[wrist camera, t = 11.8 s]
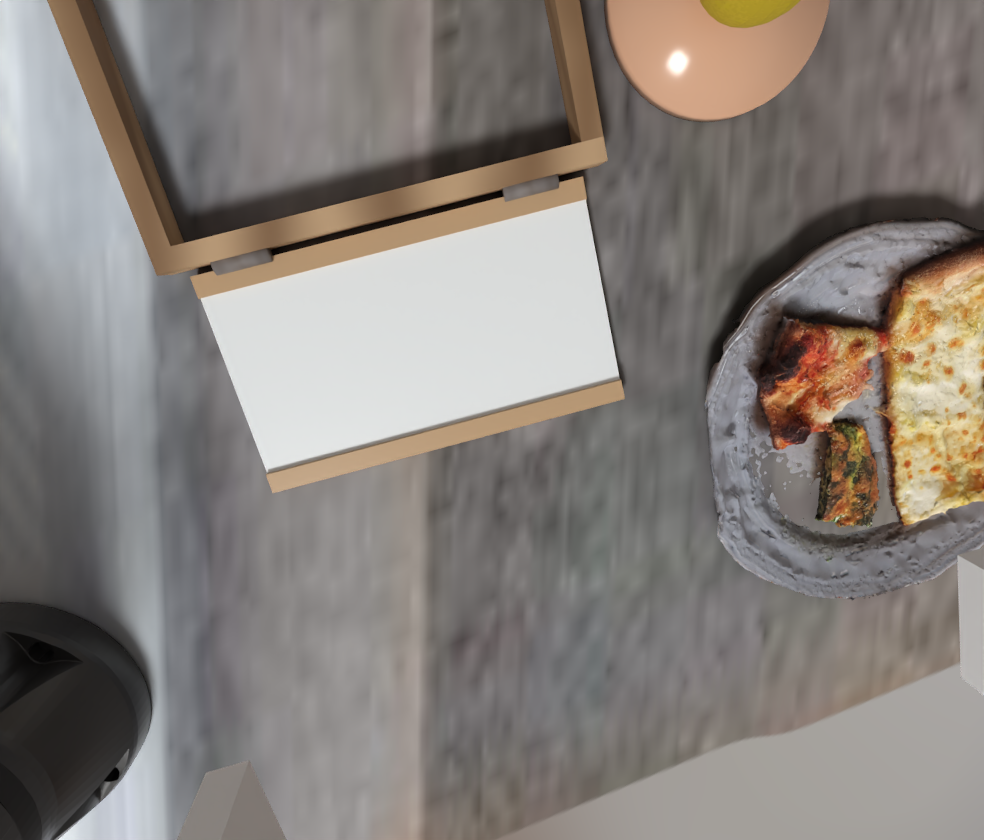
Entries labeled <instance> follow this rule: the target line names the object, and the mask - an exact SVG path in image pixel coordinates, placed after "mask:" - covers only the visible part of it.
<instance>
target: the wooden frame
mask: <svg viewBox="0 0 984 840" xmlns="http://www.w3.org/2000/svg"><path fill="white" fill-rule="evenodd" d="M47 1H48V3H49V6H50V8H51V11H52V13H53V16H54V18H55V21H56V24H57V26H58V29H59V31H60V34H61V36H62V39H63V41H64V44H65V46H66V49H67V51H68V54H69V56H70V59H71V61H72V64H73V66H74V69H75V71H76V74H77V76H78V79H79V81H80V84H81V86H82V89H83V91H84V94H85V96H86V99H87V101H88V104H89V106H90V109H91V111H92V114H93V116H94V119H95V121H96V124H97V126H98V129H99V131H100V134H101V136H102V139H103V141H104V144H105V146H106V149H107V151H108V154H109V157H110V159H111V162H112V164H113V167H114V169H115V172H116V174H117V177H118V179H119V182H120V184H121V187H122V189H123V192H124V194H125V197H126V199H127V202H128V204H129V207H130V209H131V212H132V214H133V217H134V219H135V222H136V224H137V227H138V229H139V232H140V234H141V237H142V239H143V242H144V244H145V247H146V249H147V252H148V254H149V257H150V259H151V262H152V264H153V267H154V269H155V272H156V274H157V276H158V275H173V274H177V273H181V272H185V271H189V270H193V269H197V268H201V267H205V266H209V265H211V267H212V269H213V271H214V273H215V274H216V275H222V274H226V273H230V272H234V271H238V270H242V269H246V268H250V267H253V266H257V265H261V264H265V263H269V262H273V258H272V256H273V254H272V251H271V249H275V248H279V247H283V246H287V245H291V244H295V243H299V242H302V241H306V240H310V239H314V238H318V237H322V236H326V235H330V234H334V233H338V232H342V231H346V230H349V229H353V228H357V227H361V226H365V225H369V224H373V223H377V222H381V221H385V220H389V219H393V218H396V217H400V216H404V215H408V214H412V213H416V212H420V211H424V210H428V209H432V208H436V207H439V206H443V205H447V204H451V203H455V202H459V201H463V200H467V199H471V198H475V197H479V196H483V195H486V194H490V193H494V192H498V191H502V194H503V197H504V200H505V202H507V201H511V200H515V199H519V198H523V197H527V196H531V195H535V194H538V193H542V192H546V191H550V190H554V189H558V188H559V178H558V176H561V175H565V174H569V173H573V172H576V171H580V170H584V169H588V168H592V167H596V166H599V165H600V164H602V163H604V162H606V161H608V159H607V154H606V148H605V142H604V137H603V131H602V125H601V120H600V114H599V108H598V103H597V97H596V91H595V86H594V80H593V74H592V69H591V63H590V57H589V52H588V46H587V40H586V35H585V29H584V23H583V18H582V12H581V6H580V1H579V0H544V1H545V6H546V11H547V17H548V22H549V27H550V32H551V38H552V43H553V48H554V53H555V58H556V64H557V69H558V74H559V79H560V85H561V90H562V95H563V100H564V106H565V111H566V116H567V121H568V127H569V132H570V137H571V142H572V145H568V146H564V147H560V148H556V149H552V150H548V151H544V152H540V153H536V154H532V155H529V156H525V157H521V158H517V159H513V160H509V161H505V162H501V163H497V164H493V165H489V166H485V167H481V168H477V169H473V170H469V171H466V172H462V173H458V174H454V175H450V176H446V177H442V178H438V179H434V180H430V181H426V182H422V183H418V184H414V185H410V186H406V187H403V188H399V189H395V190H391V191H387V192H383V193H379V194H375V195H371V196H367V197H363V198H359V199H355V200H351V201H347V202H344V203H340V204H336V205H332V206H328V207H324V208H320V209H316V210H312V211H308V212H304V213H300V214H296V215H292V216H288V217H284V218H281V219H277V220H273V221H269V222H265V223H261V224H257V225H253V226H249V227H245V228H241V229H237V230H233V231H229V232H225V233H221V234H218V235H214V236H210V237H206V238H202V239H198V240H194V241H190V242H186V243H184V241H183V238H182V235H181V233H180V230H179V227H178V225H177V222H176V219H175V217H174V214H173V212H172V209H171V206H170V204H169V201H168V198H167V196H166V193H165V190H164V188H163V185H162V183H161V180H160V177H159V175H158V172H157V169H156V167H155V164H154V162H153V159H152V156H151V154H150V151H149V148H148V146H147V143H146V140H145V138H144V135H143V133H142V130H141V127H140V125H139V122H138V119H137V117H136V114H135V111H134V109H133V106H132V104H131V101H130V98H129V96H128V93H127V90H126V88H125V85H124V83H123V80H122V77H121V75H120V72H119V69H118V67H117V64H116V61H115V59H114V56H113V54H112V51H111V48H110V46H109V43H108V40H107V38H106V35H105V32H104V30H103V27H102V25H101V22H100V19H99V17H98V14H97V11H96V9H95V6H94V4H93V1H92V0H47Z"/></svg>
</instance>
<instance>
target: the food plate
mask: <svg viewBox="0 0 984 840" xmlns="http://www.w3.org/2000/svg"><path fill="white" fill-rule="evenodd" d="M744 307H745V308H744V310H743V312H742V314H741V315H740V318H739V319H737V320H736V321H734V319H733V320H732V321H733V324H734V322H735V323H736V322H739V321H741V322H740V326H739V328H735V329H734V330H732V332H731V333H730V334H728V336H727V337H726V339H725V341H724V342H723V356H722V358H721V360H720V361H719V363H715V364H714V365H713V367H712V368H711V370H710V374H709V379H708V385H707V394H706V401H705V409H706V402H707V408H708V414H707V423H708V429H709V433H708V435H709V449H710V462H711V465H710V466H711V469H712V472H713V481H714V485H713V486H714V487H713V488H714V493H713V496H714V498H715V502H716V506H717V513H719V514H720V516H719V519H718V522H719V523H720V529H721V532H720V530H719V524H718V528H717V536H718V538H719V539H720V540H721V541H722V543H723V545H724V547H725V549H726V550H727V551H728V552H729V553H730V554H731V556H732V557H733V558H734V560H735V561H736V562H738V563H739V564H740V565H741V566H742V567H744V568H745V569H747V570H749V571H751V572H753V573H754V574H755V575H757V576H758V577H760V578H761V579H765V580H766V581H767V580H768V581H769V582H772V583H774V584H776V585H781V586H783V587H786V588H788V589H790V590H793V591H796V592H799V593H804V594H803V595H806V596H812V597H815V596H816V597H820V598H843V599H844V598H845V599H852V600H855V598H856V597H861V596H862V597H865V596H874V595H879V594H882V593H886V592H888V591H894V590H897V589H900V588H902V587H905V586H909V585H913V584H919V583H922V582H924V581H931V580H932V579H934V578H936V577H938V576H939V575H940V574H942V573H943V572H944V571H946V570H947V569H948V568H949V567H951V566H952V565H953V564H956V563H957V562H958V559H957V555H959V554H963V553H966V552H970V551H973V550H977V549H980V548H981V546H982V545H983V544H984V230H976V229H975V228H974V229H972V228H971V227H968V226H966V225H963V224H962V223H960V222H957V221H954V220H952V219H948V218H937V219H936V218H935V219H934V220H932V219H930V220H929V219H928V218H912V219H909V220H907V219H903V220H888V221H881V222H875V223H871V224H864V225H860V226H857V227H853V228H849V229H848V230H845V231H844V232H841V233H838V234H834V235H833V237H832V236H830V237H829V238H827V239H826V240H824V241H822V242H821V243H820V244H818V246H815V247H813V248H812V249H811V250H809V251H808V252H807V253H806V254H804V255H803V256H802V257H801V259H799V260H798V262H795V263H794V265H793V266H792V267H789V269H787V270H786V271H784V272H783V274H781V275H780V276H779V277H777V278H776V279H775V280H772V281H771V282H770V283H767V285H765V286H763V287H762V288H760V289H759V291H757V293H756V294H755V295H754V297H753V299H752V300H751V301H750V303H748V304H747V305H746V306H744ZM865 405H869V408H867V409H866V407H865ZM705 409H704V410H705ZM867 417H870V419H869V421H864V422H863V421H862V420H863V419H865V418H867ZM749 427H750V428H751V430H752V432H755V433H754V434H755V435H757V436H756V437H754V438H752V437H751V436H750V429H749ZM754 429H755V430H754ZM881 429H882V430H881ZM879 433H880V434H879ZM763 440H765V441H766V444H767V445H769V446H773V447H772V449H771V450H770V451H769V453H770V452H777V453H786V454H787V458H788V459H789V462H788V463H787V467H788V468H791V470H790V473H791V474H792V473H796V472H800V471H802V470H804V469H805V470H806V471H807V472H808V473H807V477H809V478H814V480H815V478H819V477H820V478H821V481H820V488H819V490H820V493H819V499H818V502H819V503H818V509H817V513H818V514H817V515H816V517H815V520H818V521H820V520H822V521H825V522H829V521H833V522H834V524H835V525H837V526H838V527H840V528H841V527H846V526H848V525H851V526H852V528H853V527H854V525H860V526H863V525H866V526H867V527H868V528H869V527H870V526H872V517H873V515H874V513H875V512H876V511H877V507H878V504H879V499H880V497H879V496H878V493H879V490H878V489H877V482H878V477H877V475H878V474H877V468H878V467H877V465H876V460H875V459H874V457H873V456H872V454H873V453H874V452H876V451H877V452H879V451H883V454H884V457H883V456H882V457H881V460H882V463H883V464H882V466H883V468H884V469H883V471H884V472H885V475H887V476H888V477H887V478H886V479H887V488H889V490H890V493H889V495H890V497H891V502H892V505H893V506H896V510H897V517H898V518H899V522H892V523H890V524H886V525H882V526H879V527H875V528H871V529H868V530H862V531H858V532H851V533H849V534H845V535H835V534H821V532H820V531H815V532H810V530H809V528H808V527H805V526H806V525H805V526H800V527H798V526H796V525H795V524H794V523H792V522H791V519H789V517H788V515H787V514H786V515H785V517H783V515H782V514H781V513H780V512H779V511H778V509H779V508H780V507H778V508H777V506H778V503H777V502H775V500H776V498H775V497H774V493H771V495H770V498H766V497H765V495H764V494H765V493H764V491H763V489H764V486H763V484H762V483H761V480H760V478H761V475H762V474H761V473H760V466H761V462H760V461H757V459H756V464H758V465H759V466H758V469H757V472H758V473H759V476H758V477H755V476H754V475H753V471H752V469H753V468H752V464H751V463H750V462H749V457H751V456H753V454H751V449H752V448H755V449H756V450H755V453H756V454H757V455H758V457H759V455H760V453H761V452H765V450H764V449H762V448H761V447H760V443H761V442H762V441H763ZM871 443H872V444H871ZM736 446H737V452H735V451H734V447H736ZM816 448H818V450H817V449H816ZM888 452H889V454H888ZM871 453H872V454H871ZM767 455H768V454H767V453H764V454H763V455H762V458H765V457H766V456H767ZM820 456H821V457H822V459H820ZM777 457H778V458H777V459H776V461H777V462H781V461H782V460H783V459H784V458H783V457H781V458H780V457H779V456H777ZM793 461H794V462H793ZM796 462H797V463H802V466H801V467H799V468H798V467H797V464H795V463H796ZM818 472H820V475H817V473H818ZM765 473H766V474H767V472H764V474H765ZM802 476H803V475H802V474H800V477H802ZM889 478H890V479H891V480H889ZM814 480H813V481H814ZM813 481H811V482H810V484H809V485H811V484H812V483H813ZM790 482H791V481H789V483H790ZM783 485H786V482H784V483H783ZM770 487H771V485H770ZM794 488H795V487H794ZM784 489H785V490H786V487H785V488H784ZM810 494H811V493H810ZM773 500H774V501H773ZM891 510H892V509H891ZM803 519H804V518H803ZM803 519H802V520H803ZM869 598H870V597H869Z"/></svg>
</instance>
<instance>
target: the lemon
mask: <svg viewBox="0 0 984 840" xmlns="http://www.w3.org/2000/svg"><path fill="white" fill-rule="evenodd" d="M799 1H801V0H700V2H701V4H702V6H703V7H704V9H705V10H706V11H707V13H708V14H709V15H710V16H711V17H712V18H714V19H715V20H716V21H718V22H719V23H721V24H724V25H727V26H729V27H735V28H750V27H754V26H758V25H762V24H765V23H768V22H770V21H772V20H774V19H776V18H777V17H779V16H781V15H783V14H785V13H786V12H788V11H789V10H791V9H792V8H793V7H794V6H795V5H796V4H797V3H798V2H799Z"/></svg>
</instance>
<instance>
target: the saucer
mask: <svg viewBox="0 0 984 840" xmlns="http://www.w3.org/2000/svg"><path fill="white" fill-rule="evenodd" d="M829 2H830V0H801V1H799V2H798V3H797V4H796V5H795V6H794V7H793V8H792V9H791V10H789V11H788V12H786V13H785V14H783V15H781V16H779V17H777V18H776V19H774V20H772V21H770V22H768V23H765V24H762V25H758V26H754V27H750V28H735V27H729V26H727V25H724V24H721V23H719V22H718V21H716V20H715V19H714V18H712V17H711V16H710V15H709V14H708V13H707V11H706V10H705V9H704V7H703V6H702V4H701V2H700V0H604V12H605V22H606V28H607V33H608V37H609V42H610V45H611V47H612V50H613V53H614V56H615V58H616V60H617V62H618V64H619V66H620V68H621V70H622V72H623V74H624V75H625V76H626V78H627V79H628V81H629V82H630V84H631V85H632V86H633V87H634V88H635V90H636V91H637V92H638V93H639V94H640V95H641V96H642V97H643V98H644V99H646V100H647V101H648V102H649V103H650V104H652V105H653V106H655V107H656V108H658V109H659V110H661V111H663V112H665V113H667V114H669V115H672V116H674V117H677V118H681V119H684V120H688V121H696V122H715V121H721V120H726V119H730V118H733V117H736V116H739V115H742V114H744V113H746V112H748V111H750V110H752V109H754V108H756V107H758V106H760V105H763V104H764V103H766V102H767V101H769V100H770V99H772V98H773V97H775V96H776V95H777V94H778V93H779V92H781V91H782V90H783V89H784V88H785V87H786V86H787V85H788V84H789V83H790V82H791V81H792V80H793V79H794V78H795V77H796V76H797V75H798V73H799V72H800V70H801V69H802V68H803V66H804V65H805V63H806V62H807V61H808V59H809V57H810V55H811V53H812V52H813V50H814V48H815V46H816V44H817V42H818V39H819V37H820V35H821V32H822V29H823V26H824V23H825V20H826V16H827V12H828V7H829Z"/></svg>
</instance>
